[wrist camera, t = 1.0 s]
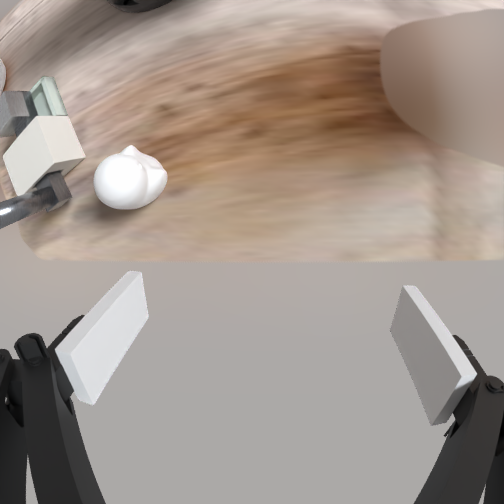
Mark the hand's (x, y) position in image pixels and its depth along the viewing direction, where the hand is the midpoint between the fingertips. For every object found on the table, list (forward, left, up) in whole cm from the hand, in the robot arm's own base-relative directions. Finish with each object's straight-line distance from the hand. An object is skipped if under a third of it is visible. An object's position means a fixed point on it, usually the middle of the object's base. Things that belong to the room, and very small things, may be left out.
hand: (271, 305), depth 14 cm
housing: (-23, -27, -26) cm, 44 cm away
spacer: (-31, -27, -20) cm, 46 cm away
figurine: (-11, -14, -26) cm, 32 cm away
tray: (-31, -27, -26) cm, 49 cm away
